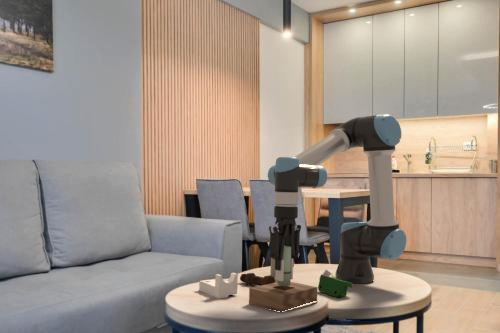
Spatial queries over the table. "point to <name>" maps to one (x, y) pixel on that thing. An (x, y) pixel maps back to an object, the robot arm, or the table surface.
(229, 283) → the bracket
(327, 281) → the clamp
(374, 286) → the table surface
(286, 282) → the peg
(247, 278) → the bolt
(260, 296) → the board
